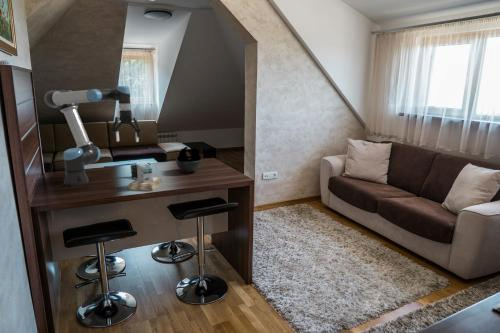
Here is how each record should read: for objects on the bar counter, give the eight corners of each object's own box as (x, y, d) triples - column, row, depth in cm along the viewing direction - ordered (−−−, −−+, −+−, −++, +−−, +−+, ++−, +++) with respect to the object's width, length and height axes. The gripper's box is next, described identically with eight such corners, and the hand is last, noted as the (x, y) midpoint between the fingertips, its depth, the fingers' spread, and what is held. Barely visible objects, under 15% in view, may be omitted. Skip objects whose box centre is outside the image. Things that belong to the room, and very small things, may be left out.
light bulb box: (153, 181, 225) (152, 165, 223) (143, 183, 221) (142, 167, 219) (146, 177, 233) (145, 162, 231) (137, 179, 229) (136, 164, 226)
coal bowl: (199, 175, 257) (199, 150, 252) (173, 174, 257) (172, 150, 252) (203, 168, 276) (203, 146, 272) (179, 168, 276) (178, 145, 272)
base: (128, 189, 220) (128, 183, 219) (139, 182, 238) (139, 176, 237) (152, 190, 219) (152, 184, 218) (161, 182, 236) (161, 177, 235)
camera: (131, 180, 242) (130, 166, 239) (131, 176, 252) (130, 163, 249) (152, 178, 247) (151, 165, 244) (151, 174, 257) (150, 162, 254)
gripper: (104, 110, 222) (107, 141, 228) (141, 110, 221) (143, 142, 226) (109, 109, 230) (112, 140, 235) (145, 109, 228) (147, 141, 233)
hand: (127, 141), depth 230 cm, fingers open, 13 cm apart
